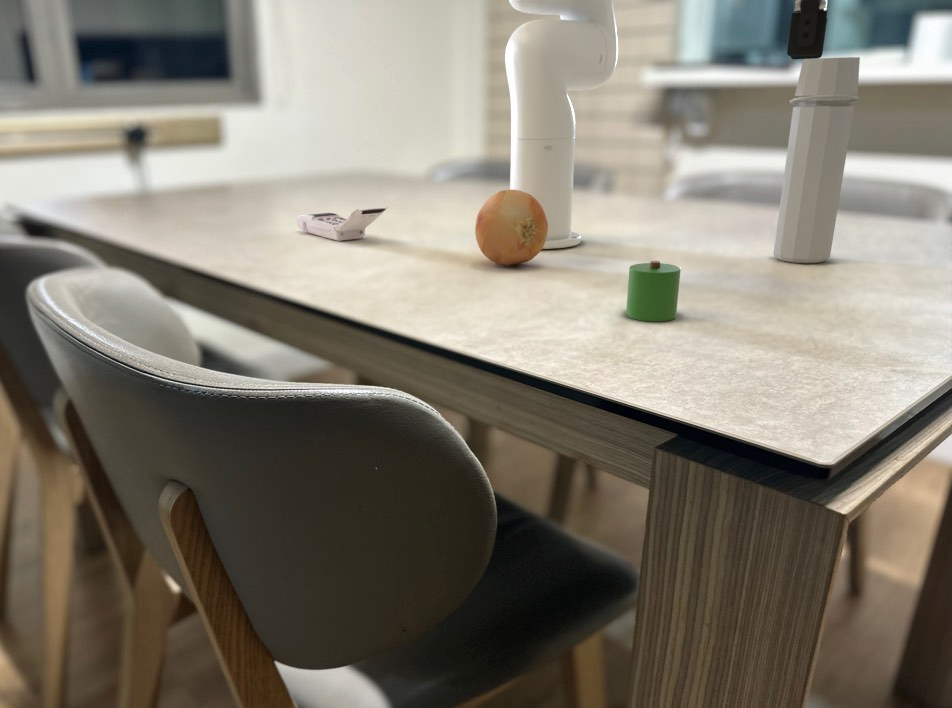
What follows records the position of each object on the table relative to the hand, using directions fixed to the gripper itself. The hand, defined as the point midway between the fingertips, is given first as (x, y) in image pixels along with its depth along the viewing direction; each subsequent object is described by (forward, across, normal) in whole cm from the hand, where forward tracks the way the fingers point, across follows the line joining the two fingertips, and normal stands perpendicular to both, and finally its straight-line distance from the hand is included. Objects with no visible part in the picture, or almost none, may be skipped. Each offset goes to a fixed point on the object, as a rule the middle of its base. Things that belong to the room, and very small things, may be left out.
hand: (804, 57), depth 86 cm
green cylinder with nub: (+25, +19, -11) cm, 33 cm away
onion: (+25, -2, -33) cm, 42 cm away
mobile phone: (+24, -16, -69) cm, 75 cm away
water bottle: (+25, -19, +2) cm, 31 cm away
